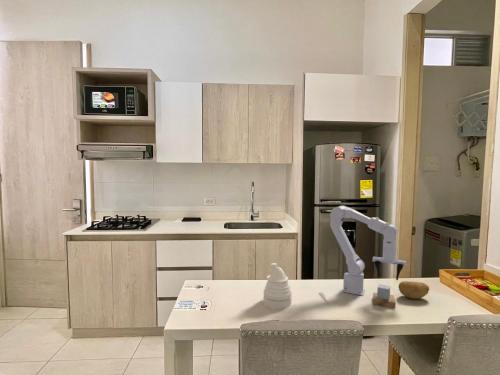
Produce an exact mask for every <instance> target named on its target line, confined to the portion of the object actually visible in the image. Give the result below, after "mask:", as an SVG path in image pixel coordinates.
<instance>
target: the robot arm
mask: <svg viewBox="0 0 500 375" xmlns="http://www.w3.org/2000/svg"><path fill="white" fill-rule="evenodd" d="M329 217H330V222H329V225H330V228H331V231H332V233H333V234H334V237H335V239H336V241H337V243H338V245H339V246H340V247H339V248H340V249H341V251H342V253H343V255H344V256H345V263H346V265H347V271H348V272H345V273H344V274H343V286H342V288H343V289H342V293H348V294H353V295H358V296H363V295H364V293H365V292H366V291H365V290H366V289H364V280H365V279H364V275H365V274H364V269H365V267H366V265H365V262H364V261H363V260H362V259H361V258H360V256H359V255H358V254H357V253H356V252H355V250H354V248H353V245H352V244H351V242H350V241H349V238H348V236H347V234H346V232H345V230H344V229H343V227H342V225H343V222H344V220H345V219H349V218H350V219H351V218H352V219H354V220H357V221H359V222H361V223H364V224H365V225H366V226H367V227H368V228H369V229H371V230H373V231H374V232H377V233H379V234H381V235H383V241H382V242H383V243H382V257H381V256H380V257H379V256H373V257H372V262H374V266H375V268H376V271H377V274H378V275H377V276H378V278H381V276H382V271H381V270H382V269H381V268H382V263H383V264H391V265H396V276H395V280H396V281H399V276H400V273H401V272H402V270H403V268H404V267H406V266H407V261H406V260H401V259H397V258H396V257H397V235H398V231H399V230H398V227H397V226H396V225H395V224H393V223H389V222H388V221H387V222H385V221H384V220H381V219H380V217H377V216H376V217H373V216H372V217H369V216H366V215H364V214H363V213H361V212H359V211H357V210H355V209H353V208H352V207H348V206H346V205H339V206H335V207H332V209H331V212H330V214H329Z"/></svg>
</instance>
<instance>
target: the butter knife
mask: <svg viewBox="0 0 500 375" xmlns="http://www.w3.org/2000/svg"><path fill="white" fill-rule="evenodd" d="M319 296H320V297H321V299H322V300H323V301H324V302H325V303H326V304H327V305H329V304H330V303H329V302H328V300H327V298H326V296H325V294H324V292H321V291H320V292H319Z"/></svg>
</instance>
